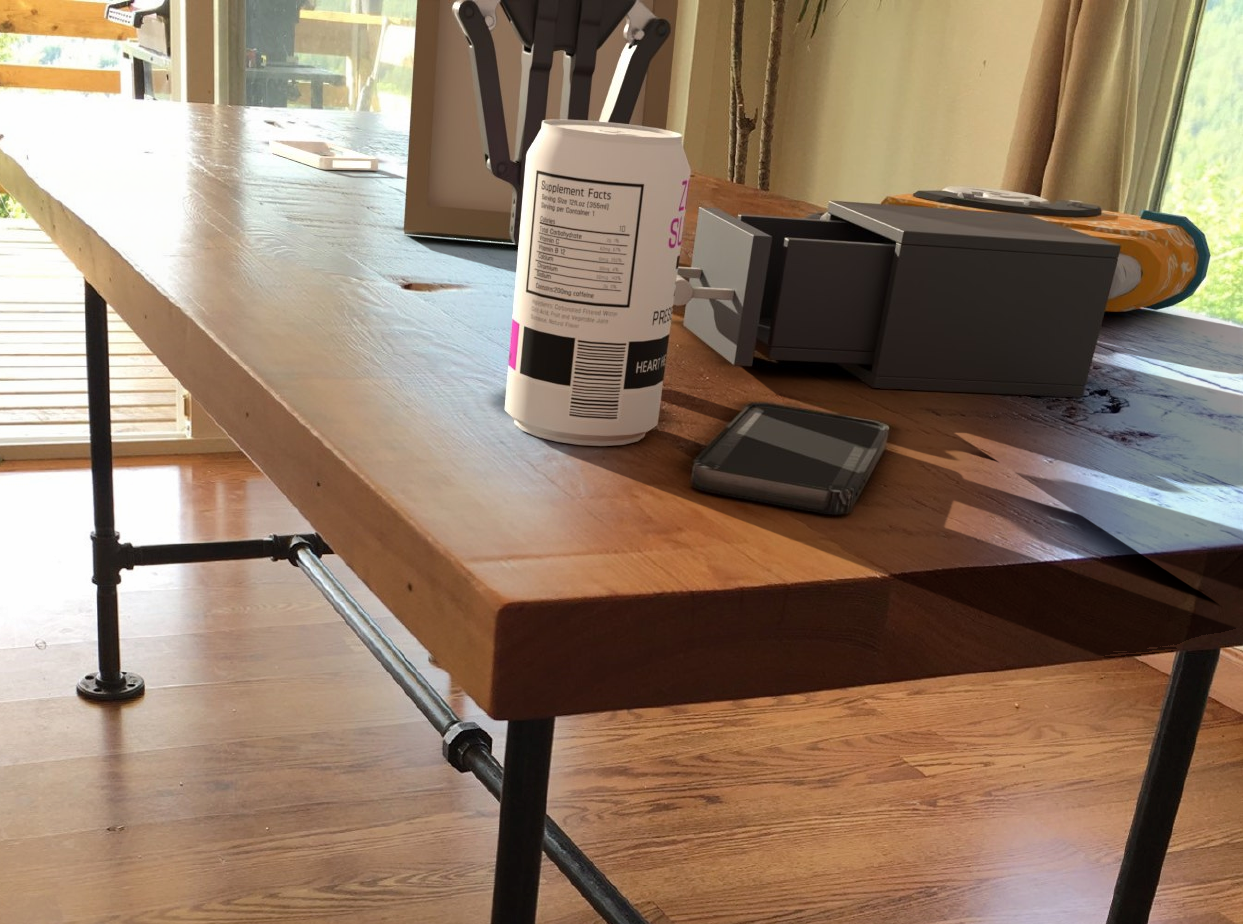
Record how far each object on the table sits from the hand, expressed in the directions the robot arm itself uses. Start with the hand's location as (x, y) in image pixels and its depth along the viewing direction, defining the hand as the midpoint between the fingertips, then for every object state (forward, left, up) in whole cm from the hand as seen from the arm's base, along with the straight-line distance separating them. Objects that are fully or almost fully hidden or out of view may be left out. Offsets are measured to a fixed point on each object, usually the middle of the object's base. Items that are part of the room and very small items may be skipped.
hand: (535, 299), depth 96 cm
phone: (-24, -9, -3) cm, 26 cm away
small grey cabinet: (0, -28, -3) cm, 28 cm away
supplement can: (-18, +1, -3) cm, 18 cm away
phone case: (+93, +7, -3) cm, 93 cm away
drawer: (0, -16, -2) cm, 16 cm away
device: (+29, -46, -3) cm, 55 cm away
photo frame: (+45, -8, -3) cm, 46 cm away
